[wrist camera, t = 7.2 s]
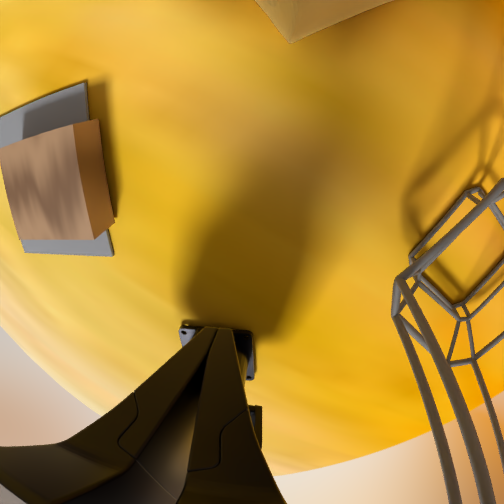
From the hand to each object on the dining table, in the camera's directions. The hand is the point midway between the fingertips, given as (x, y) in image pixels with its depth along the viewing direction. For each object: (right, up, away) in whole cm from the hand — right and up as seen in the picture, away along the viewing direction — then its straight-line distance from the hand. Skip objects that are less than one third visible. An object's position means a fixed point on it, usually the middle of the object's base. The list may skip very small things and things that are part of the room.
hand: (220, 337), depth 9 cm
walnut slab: (-10, +8, +9) cm, 15 cm away
